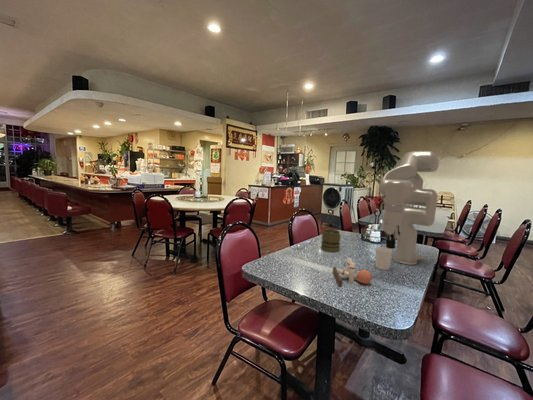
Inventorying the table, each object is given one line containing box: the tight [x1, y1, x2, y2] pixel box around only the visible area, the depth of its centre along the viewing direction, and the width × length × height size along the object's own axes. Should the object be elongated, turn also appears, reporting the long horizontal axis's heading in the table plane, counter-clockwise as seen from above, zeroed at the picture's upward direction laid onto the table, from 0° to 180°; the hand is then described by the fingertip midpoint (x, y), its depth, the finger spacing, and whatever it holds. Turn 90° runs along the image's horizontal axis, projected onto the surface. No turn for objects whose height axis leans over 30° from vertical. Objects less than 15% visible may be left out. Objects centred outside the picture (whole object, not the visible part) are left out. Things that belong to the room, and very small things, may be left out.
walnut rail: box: [332, 266, 343, 288], centre depth 112 cm, size 1×16×2 cm, turn 174°
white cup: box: [375, 246, 393, 271], centre depth 128 cm, size 8×8×10 cm
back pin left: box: [348, 261, 356, 284], centre depth 109 cm, size 2×2×9 cm
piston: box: [321, 229, 341, 253], centre depth 156 cm, size 11×12×11 cm
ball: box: [356, 269, 373, 285], centre depth 108 cm, size 6×6×6 cm
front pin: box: [337, 268, 358, 281], centre depth 111 cm, size 2×2×9 cm
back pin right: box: [345, 257, 353, 279], centre depth 113 cm, size 2×2×9 cm
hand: (390, 247), depth 110 cm, fingers closed
